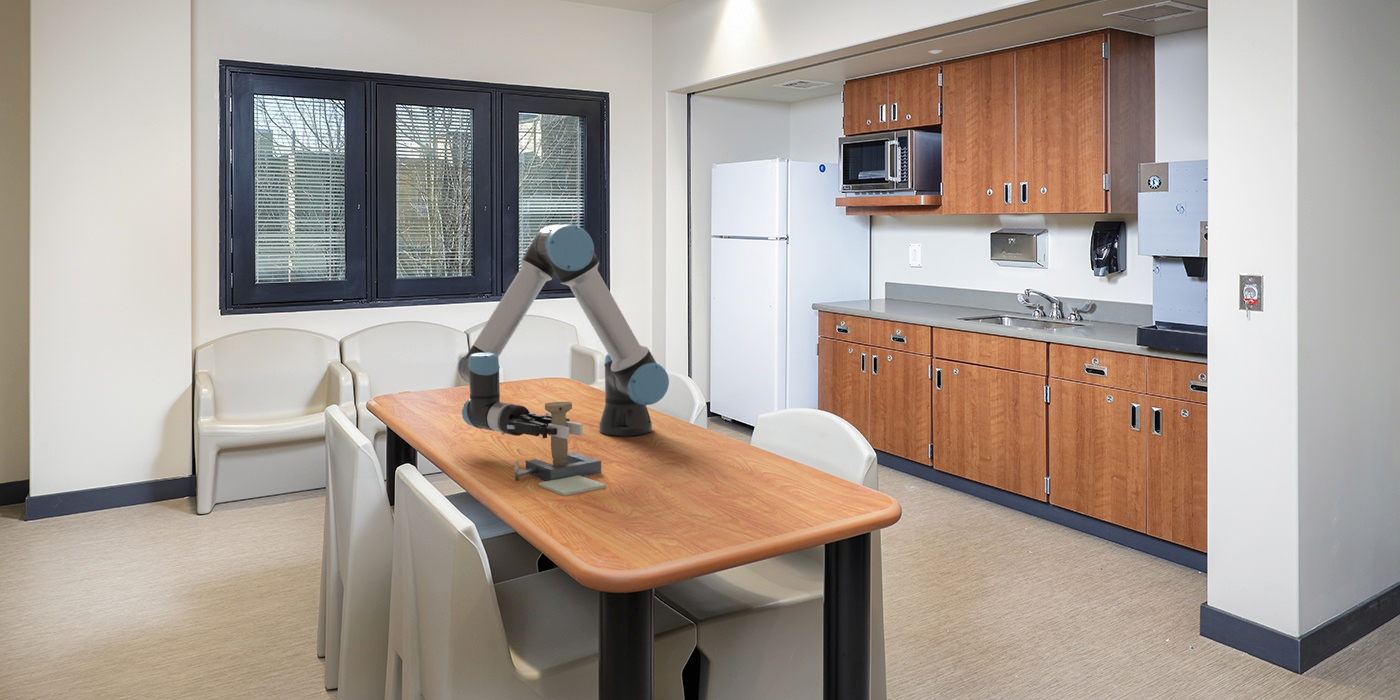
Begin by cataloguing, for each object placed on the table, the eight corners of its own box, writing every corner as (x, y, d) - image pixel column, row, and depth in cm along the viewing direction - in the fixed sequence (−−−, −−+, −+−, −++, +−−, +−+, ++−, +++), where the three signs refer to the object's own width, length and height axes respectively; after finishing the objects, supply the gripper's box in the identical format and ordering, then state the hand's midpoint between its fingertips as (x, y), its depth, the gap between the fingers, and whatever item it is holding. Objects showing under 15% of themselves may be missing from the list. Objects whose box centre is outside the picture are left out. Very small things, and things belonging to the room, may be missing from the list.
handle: (575, 466, 229) (573, 404, 227) (548, 468, 227) (546, 406, 225) (570, 461, 234) (569, 401, 232) (544, 464, 232) (542, 402, 230)
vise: (575, 464, 238) (575, 446, 238) (601, 472, 230) (601, 454, 229) (505, 476, 226) (505, 458, 225) (530, 486, 217) (529, 467, 217)
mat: (579, 477, 225) (578, 475, 225) (606, 487, 217) (606, 484, 217) (538, 485, 218) (538, 482, 218) (564, 495, 210) (564, 493, 210)
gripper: (535, 428, 248) (600, 440, 233) (483, 439, 235) (548, 453, 220) (535, 399, 247) (599, 410, 232) (482, 409, 234) (547, 421, 219)
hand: (574, 431), depth 226 cm, fingers closed on handle, 3 cm apart
